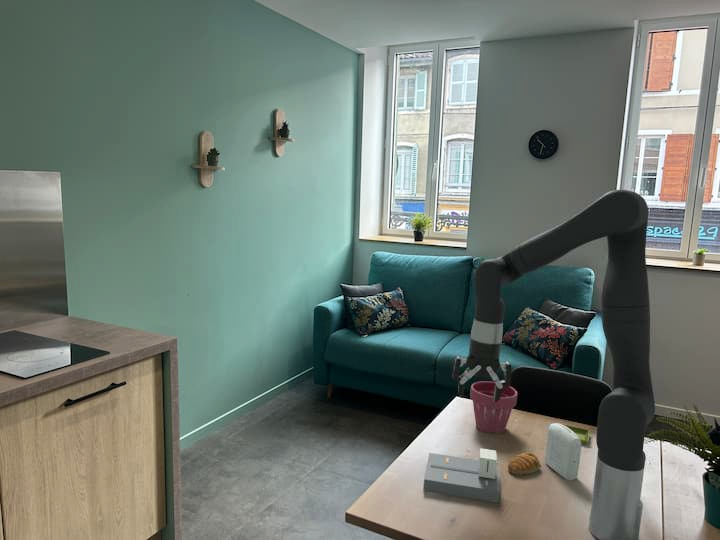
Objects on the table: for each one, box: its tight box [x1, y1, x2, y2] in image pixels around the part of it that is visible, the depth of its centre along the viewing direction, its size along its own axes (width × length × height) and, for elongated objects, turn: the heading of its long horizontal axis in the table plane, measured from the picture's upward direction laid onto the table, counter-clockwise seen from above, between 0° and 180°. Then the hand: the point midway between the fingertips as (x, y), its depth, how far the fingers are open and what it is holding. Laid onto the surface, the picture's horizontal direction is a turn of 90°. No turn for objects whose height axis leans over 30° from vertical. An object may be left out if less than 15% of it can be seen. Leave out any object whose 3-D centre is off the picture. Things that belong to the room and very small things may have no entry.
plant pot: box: [469, 380, 518, 434], centre depth 168 cm, size 14×14×13 cm
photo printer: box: [544, 422, 582, 481], centre depth 143 cm, size 10×4×12 cm, turn 17°
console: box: [422, 452, 501, 504], centre depth 136 cm, size 18×14×3 cm
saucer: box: [561, 423, 590, 445], centre depth 165 cm, size 9×9×2 cm
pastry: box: [507, 451, 542, 476], centre depth 144 cm, size 9×7×4 cm
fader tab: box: [478, 447, 498, 479], centre depth 134 cm, size 4×5×5 cm
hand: (478, 398), depth 136 cm, fingers open, 8 cm apart
